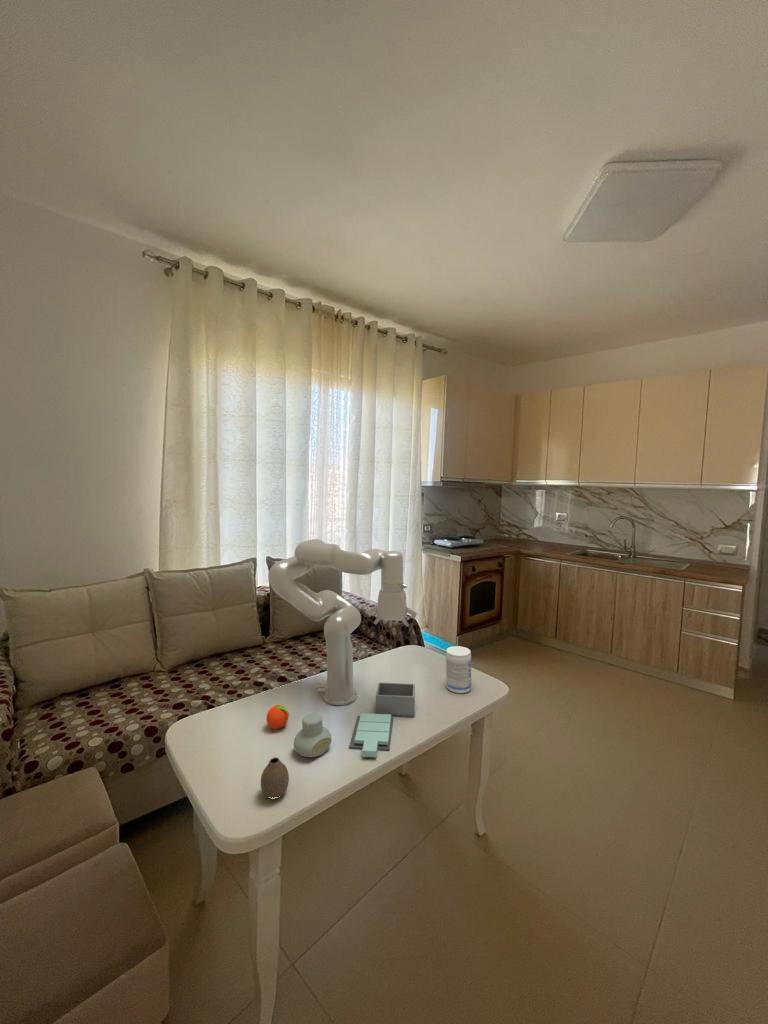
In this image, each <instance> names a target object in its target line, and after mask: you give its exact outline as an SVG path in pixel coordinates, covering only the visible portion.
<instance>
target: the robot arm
mask: <svg viewBox="0 0 768 1024" xmlns="http://www.w3.org/2000/svg"><path fill="white" fill-rule="evenodd" d="M315 566H317V567H324V568H331V569H332V568H333V569H334V570H336V571H339V572H341V573H345V574H350V575H351V574H352V575H358V576H366V575H371V574H372V573H374V572H375V571H379V570H380V573H381V575H380V584H381V585H380V589H379V591H378V597H377V604H376V606H373V607H371V608H369V609H367V615H368V616H369V619H370V620H371V622H373V624H374V632H375V634H376V635H375V636H377V637H378V636H380V633H381V622H380V621H381V620H383V621H384V620H385V621H396V622H398V621H399V622H402V623H403V624H404V625H403V638H405V639H406V638H407V635H410V633H409V631H410V629H409V627H410V626H409V625H412V623H413V622H414V621H415V619H416V617H417V615H418V614H417V612H416V611H415V610H412V609H411V608H409V607H408V604H407V594H406V590H405V589H407V588H408V584H405V583H404V581H403V580H404V555H403V554H402V552H400V551H396V550H383V549H379V548H378V549H377V548H371V549H368V550H366V551H364V552H356V551H355V552H353V551H347V550H343V549H341V547H340V545H338V544H335V543H334V544H333V543H327V542H326V543H325V541H323V540H322V539H319V538H312V539H309V540H305V541H302V542H300V543H298V544H297V545H296V547H295V549H294V556H291V557H289V558H284V559H282V560H279V561H277V562H275V563H274V564H273V565H272V566H271V567H270V569H269V571H268V582H269V585H270V587H271V589H272V590H273V591H274V594H276V595H278V597H280V598H281V599H283V600H285V601H286V602H288V603H289V604H291V605H292V607H294V608H295V609H297V610H298V611H299V612H301V613H302V614H303V615H304V616H306V617H307V618H308V619H310V620H311V621H314V622H320V621H322V620H324V619H326V618H327V617H328V618H327V619H326V620H325V622H324V627H323V633H324V638H325V639H324V640H325V646H326V647H325V648H326V681H327V682H325V683H316V685H315V689H316V690H317V692H318V693H323V695H322V696H323V700H324V702H326V703H327V704H329V705H332V706H345V705H349V704H351V703H353V702H355V701H356V699H358V690H357V689H356V688H355V687H354V653H353V652H354V651H353V650H354V649H353V642H352V641H351V634H352V633H353V632H354V631H355V630H356V629H357V628H358V627H359V626H360V625H361V622H362V615H361V613H360V610H359V609H358V608H357V607H356V606H355V605H354V604H352V603H351V602H349V601H348V600H346V599H345V598H344V597H342V596H341V595H340V594H338V593H336V592H335V591H332V590H330V589H325V590H321V591H319V592H315V591H314V590H312V589H310V588H309V587H308V586H307V585H305V584H303V583H301V582H298V581H296V580H295V579H299V578H300V577H302V576H304V575H306V574H307V573H308V572H309V571H311V570H312V569H313V568H314V567H315ZM374 612H376V616H375V615H374V614H373V613H374ZM408 614H409V615H410V618H409V619H408V618H407V615H408Z"/></svg>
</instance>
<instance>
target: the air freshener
mask: <svg viewBox="0 0 768 1024" xmlns="http://www.w3.org/2000/svg"><path fill="white" fill-rule="evenodd" d="M301 722H302V723H301V725H302V726H301V729H300V730H299V731H298V732H297V733H296V734H295V737H294V739H293V747H294V749H295V751H296V753H298V755H300V756H302V757H306V758H315V757H318V756H322V754H324V753H325V752H326V751H327V750H328V749H329V747H330V746H331V744H332V734H331V732H330V730H329V729H328V728H327V727H324V726H323V716H322V714H321V713H319V712H309V713H306V714H305V715H304V716H303V717H302V718H301Z"/></svg>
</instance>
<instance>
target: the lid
mask: <svg viewBox="0 0 768 1024" xmlns="http://www.w3.org/2000/svg"><path fill="white" fill-rule="evenodd" d="M359 716H360V720H359V724H358V728H357V732H356V736H355V743H359V744H364V745H363V749H361V751H362V752H361V756H362V757H363V758H377V755H378V750H377V749H378V744H381V745H388V741H389V732H390V723H391V717H392V716H391V714H376V713H363V712H362V713H360V715H359Z"/></svg>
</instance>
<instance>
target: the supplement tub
mask: <svg viewBox="0 0 768 1024" xmlns="http://www.w3.org/2000/svg"><path fill="white" fill-rule="evenodd" d="M445 650H446V651H445V652H446V653H445V683H446V684H445V685H446V688H447V689H448V690H449V691H451V692H452V693H456V694H466V693H468V692H469V691H470V690H471V689H472V652H471V649H469V648H468V647H465V646H460V645H454V646H450V647H447V648H446V649H445Z"/></svg>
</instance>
